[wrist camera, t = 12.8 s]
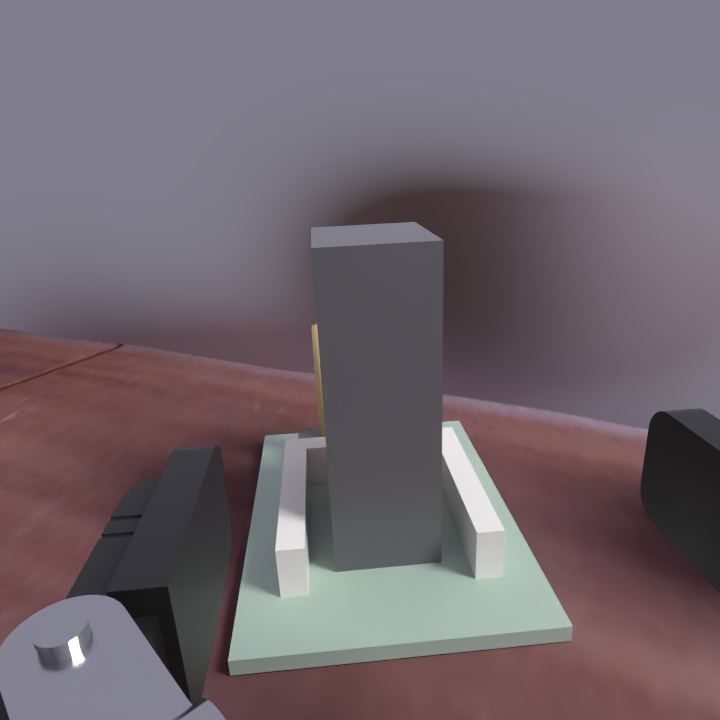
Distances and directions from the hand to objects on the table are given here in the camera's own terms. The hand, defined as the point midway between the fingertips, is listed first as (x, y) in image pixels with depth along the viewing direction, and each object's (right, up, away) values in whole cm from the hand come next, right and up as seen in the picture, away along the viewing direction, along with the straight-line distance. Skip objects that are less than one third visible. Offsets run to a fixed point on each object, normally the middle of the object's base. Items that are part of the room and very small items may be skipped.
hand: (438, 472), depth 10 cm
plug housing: (-1, -5, +13) cm, 14 cm away
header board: (-1, -5, +15) cm, 15 cm away
